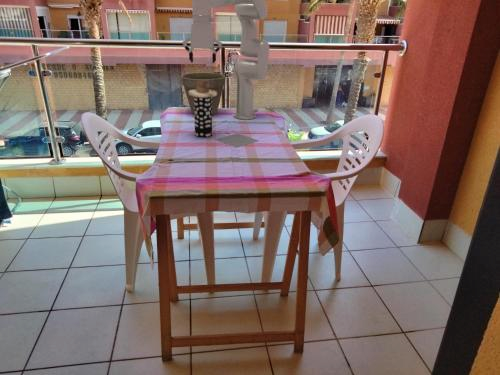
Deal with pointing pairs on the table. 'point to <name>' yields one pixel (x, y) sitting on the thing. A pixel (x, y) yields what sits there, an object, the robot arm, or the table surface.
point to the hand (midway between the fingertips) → (202, 62)
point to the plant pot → (214, 84)
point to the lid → (202, 90)
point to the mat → (236, 140)
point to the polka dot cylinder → (203, 116)
